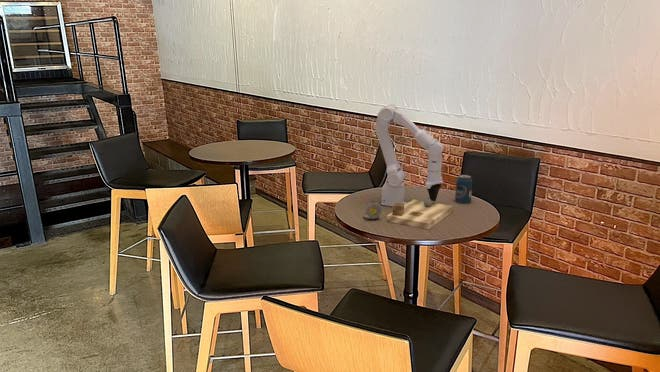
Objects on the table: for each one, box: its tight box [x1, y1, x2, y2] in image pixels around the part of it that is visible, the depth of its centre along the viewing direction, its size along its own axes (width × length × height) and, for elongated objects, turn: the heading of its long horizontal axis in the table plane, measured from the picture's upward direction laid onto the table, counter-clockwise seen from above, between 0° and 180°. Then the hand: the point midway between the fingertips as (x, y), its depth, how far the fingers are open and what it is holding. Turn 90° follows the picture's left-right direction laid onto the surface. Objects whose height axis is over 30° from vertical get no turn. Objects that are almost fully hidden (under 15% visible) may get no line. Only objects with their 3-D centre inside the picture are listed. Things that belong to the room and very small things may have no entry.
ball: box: [423, 197, 433, 206], centre depth 213 cm, size 4×4×4 cm
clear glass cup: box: [363, 196, 383, 220], centre depth 206 cm, size 8×8×10 cm
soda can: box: [454, 174, 473, 205], centre depth 226 cm, size 7×7×12 cm
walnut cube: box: [391, 203, 404, 216], centre depth 204 cm, size 4×4×4 cm
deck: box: [386, 198, 454, 231], centre depth 209 cm, size 18×26×2 cm
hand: (432, 200), depth 218 cm, fingers closed
